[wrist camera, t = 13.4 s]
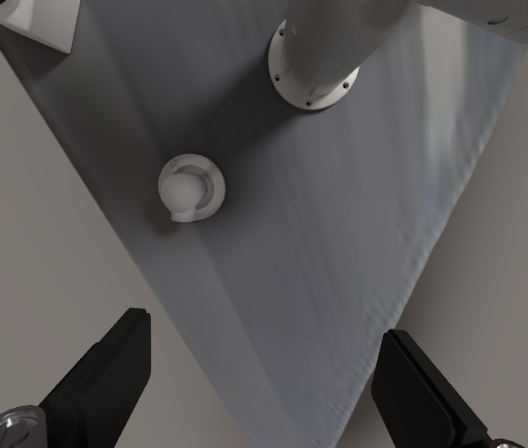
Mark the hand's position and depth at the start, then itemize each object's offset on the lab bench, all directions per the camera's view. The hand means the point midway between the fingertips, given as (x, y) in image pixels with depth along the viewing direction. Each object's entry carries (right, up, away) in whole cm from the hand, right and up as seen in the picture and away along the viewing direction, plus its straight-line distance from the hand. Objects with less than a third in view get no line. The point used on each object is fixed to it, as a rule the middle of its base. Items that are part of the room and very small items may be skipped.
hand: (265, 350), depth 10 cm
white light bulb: (-11, +10, +29) cm, 33 cm away
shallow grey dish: (-11, +11, +31) cm, 34 cm away
